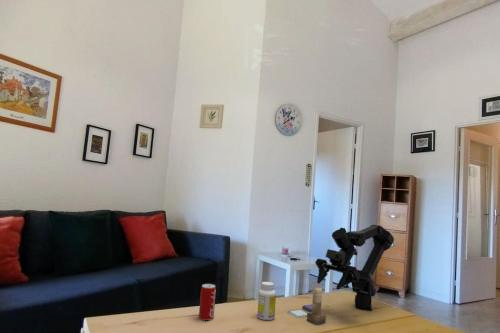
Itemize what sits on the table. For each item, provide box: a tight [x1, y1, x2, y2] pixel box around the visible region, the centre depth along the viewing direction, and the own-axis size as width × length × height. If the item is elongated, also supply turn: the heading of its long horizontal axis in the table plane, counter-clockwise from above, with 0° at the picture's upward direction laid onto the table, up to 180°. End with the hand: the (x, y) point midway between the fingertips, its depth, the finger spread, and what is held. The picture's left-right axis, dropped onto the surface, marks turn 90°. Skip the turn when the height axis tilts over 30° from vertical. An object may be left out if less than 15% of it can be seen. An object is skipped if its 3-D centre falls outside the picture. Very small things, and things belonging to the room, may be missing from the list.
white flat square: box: [285, 308, 308, 319], centre depth 132 cm, size 8×8×1 cm
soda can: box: [198, 283, 217, 321], centre depth 121 cm, size 6×6×12 cm
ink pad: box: [301, 303, 312, 312], centre depth 137 cm, size 6×6×2 cm
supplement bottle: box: [257, 281, 277, 321], centre depth 126 cm, size 7×7×13 cm
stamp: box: [306, 286, 327, 326], centre depth 125 cm, size 5×5×12 cm
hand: (327, 285), depth 130 cm, fingers open, 9 cm apart
